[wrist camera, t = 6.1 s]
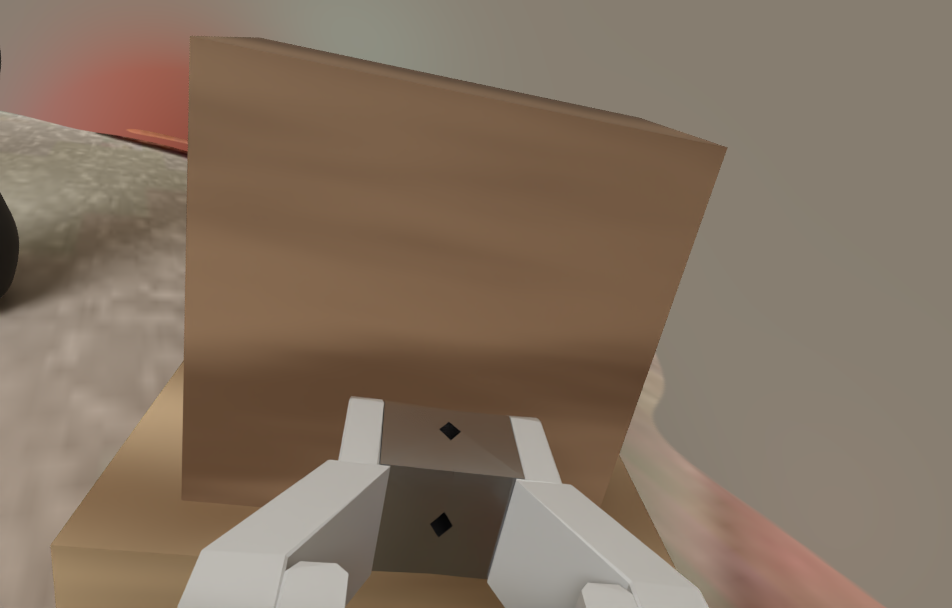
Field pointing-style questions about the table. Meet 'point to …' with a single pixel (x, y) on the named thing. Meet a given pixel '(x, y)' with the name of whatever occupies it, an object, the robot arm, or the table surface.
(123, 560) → the tan piece
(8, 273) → the cola bottle
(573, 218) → the upright wooden block
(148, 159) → the table surface
